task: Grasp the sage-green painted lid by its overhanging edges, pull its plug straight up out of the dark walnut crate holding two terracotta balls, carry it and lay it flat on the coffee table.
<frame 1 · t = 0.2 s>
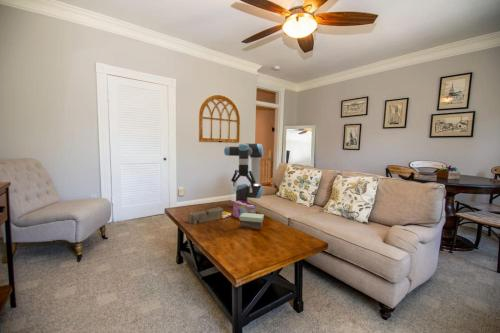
hand: (243, 191, 175), 27 cm above the table, fingers open, 13 cm apart
crate: (251, 226, 175), on the table
lid: (251, 219, 174), point 6 cm above the table, touching crate
gum box: (243, 218, 195), on the table
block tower: (206, 220, 189), on the table
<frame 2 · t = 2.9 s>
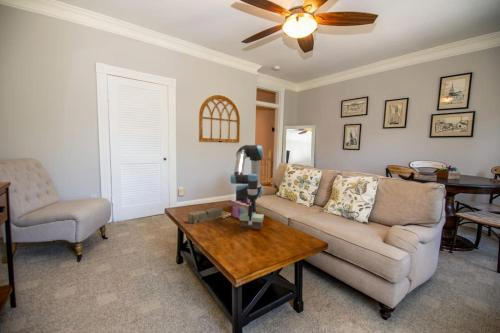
hand: (251, 222, 174), 4 cm above the table, fingers closed on lid, 10 cm apart
lid: (251, 219, 174), point 6 cm above the table, touching crate, gripper
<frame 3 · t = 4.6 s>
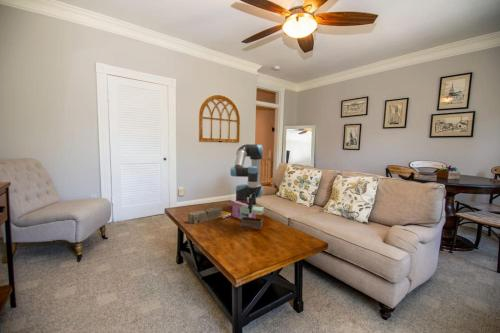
hand: (252, 214, 174), 9 cm above the table, fingers closed on lid, 10 cm apart
lid: (252, 211, 174), point 12 cm above the table, touching gripper
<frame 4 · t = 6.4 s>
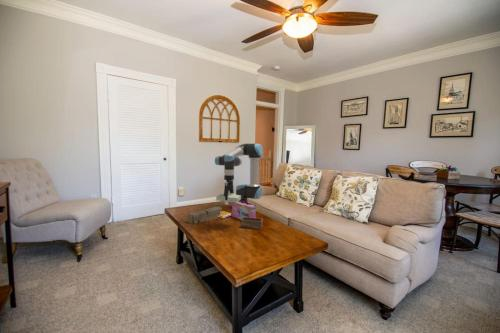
hand: (228, 202, 177), 18 cm above the table, fingers closed on lid, 10 cm apart
lid: (228, 199, 177), point 20 cm above the table, touching gripper
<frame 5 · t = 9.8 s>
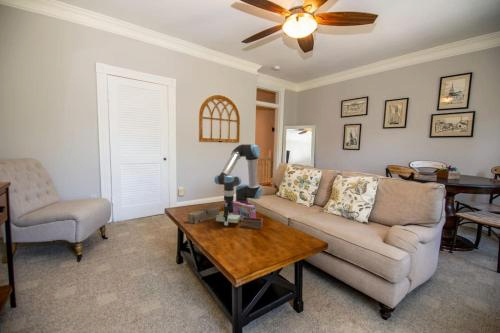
hand: (228, 222, 179), 1 cm above the table, fingers closed on lid, 10 cm apart
lid: (228, 219, 179), point 4 cm above the table, touching gripper
when the fingers open (1 cm above the table, at t = 9.8 s): lid drops 3 cm, point 1 cm above the table.
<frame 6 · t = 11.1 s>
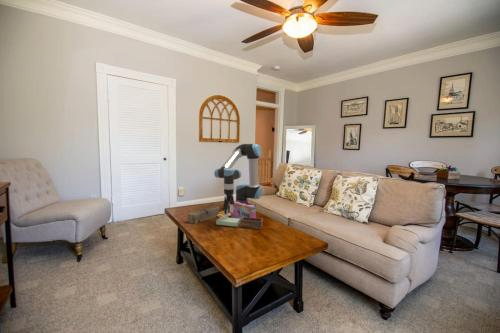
hand: (228, 214, 179), 8 cm above the table, fingers open, 13 cm apart
lid: (228, 223, 179), point 1 cm above the table
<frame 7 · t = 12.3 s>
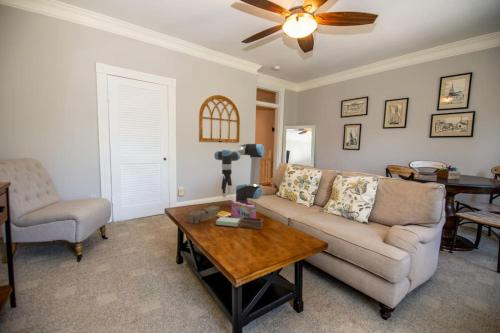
hand: (226, 195, 182), 22 cm above the table, fingers open, 13 cm apart
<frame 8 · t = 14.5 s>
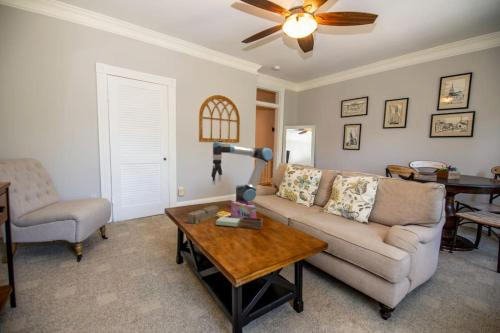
hand: (217, 183, 201), 29 cm above the table, fingers open, 13 cm apart
at the end: lid inside the target area (0.1 cm from its centre), point 0.8 cm above the table; lid tilted 0°; the gripper is holding nothing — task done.
